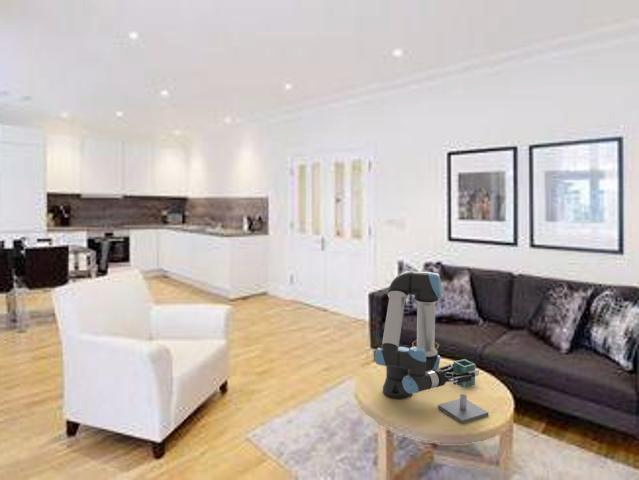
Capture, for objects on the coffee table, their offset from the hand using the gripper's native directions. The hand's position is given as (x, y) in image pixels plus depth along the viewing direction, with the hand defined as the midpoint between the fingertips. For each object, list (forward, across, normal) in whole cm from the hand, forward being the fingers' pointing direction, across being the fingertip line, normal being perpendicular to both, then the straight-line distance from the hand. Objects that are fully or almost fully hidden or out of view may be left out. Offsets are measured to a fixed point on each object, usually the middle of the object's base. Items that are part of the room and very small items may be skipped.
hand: (472, 369), depth 208 cm
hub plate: (-5, 0, -20) cm, 21 cm away
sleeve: (-5, 0, -6) cm, 8 cm away
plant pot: (+9, -45, -20) cm, 50 cm away
